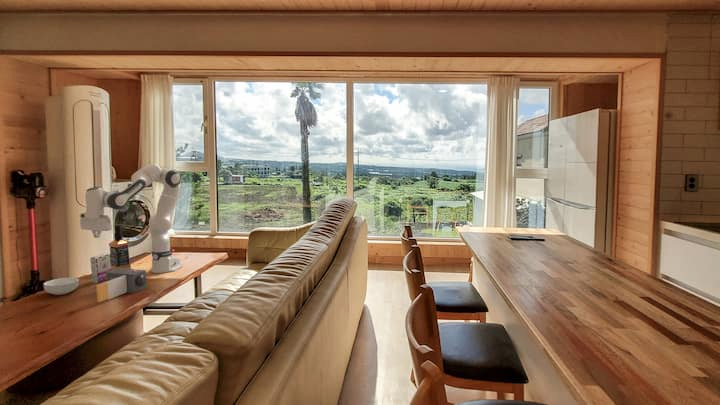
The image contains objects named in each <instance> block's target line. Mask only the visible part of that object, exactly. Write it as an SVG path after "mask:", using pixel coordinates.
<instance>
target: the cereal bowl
mask: <svg viewBox="0 0 720 405" xmlns="http://www.w3.org/2000/svg"><path fill="white" fill-rule="evenodd" d="M79 284H80V279H79V278H78V277H61V278H56V279H51V280H48V281H45V282H43V289H44V291H45V292H46V293H48V294H53V295H54V296H62V295H67V294H69V293H71V292H72V291H74V290H76V289H77V288H78V286H79Z"/></svg>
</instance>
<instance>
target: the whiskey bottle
mask: <svg viewBox="0 0 720 405" xmlns="http://www.w3.org/2000/svg"><path fill="white" fill-rule="evenodd" d="M129 245H130V242H128V241H127V240H125V239H123V232H122V226H121V224H117V225H116V224H115V225H114V240H112V241H111V242H109V243H108V247H109V254H110V258H111V269H112V270H114V269H117V268H128V269H132V266H131V265H132V264H130V262H131V261H130V252H129Z"/></svg>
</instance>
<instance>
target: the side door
mask: <svg viewBox="0 0 720 405" xmlns="http://www.w3.org/2000/svg"><path fill="white" fill-rule="evenodd" d="M95 288H96V300H97V302H96V303H101V302H103V301H106V300H108V301H109V300H111V299H114V298H116V297H118V296H121V295H123V294H125V293H128V292H127V281H126V275H124V276H121V277H118V278H116V279H113V280H110V281H107V280H106V281H104V282H101V283H98V284H97V285H95Z"/></svg>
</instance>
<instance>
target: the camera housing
mask: <svg viewBox="0 0 720 405" xmlns="http://www.w3.org/2000/svg"><path fill="white" fill-rule="evenodd" d="M105 274H107V280H106V282H107V281H110V280H113V279H116V278H118V277H121V276H124V275H126V281H127V292H126V293H129V294H135V293H138V292H140V291H142V290H145V289H147V288H148V286H147V283H148V282H147V270H146V269H136V268H131V269H128V268H117V269H114V270H110V271H107V272H105Z"/></svg>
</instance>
